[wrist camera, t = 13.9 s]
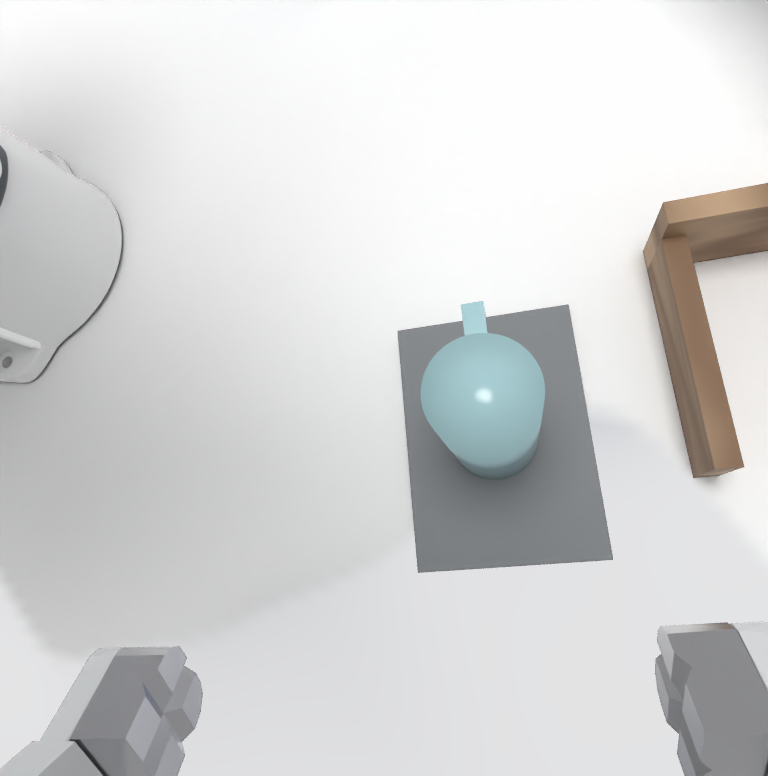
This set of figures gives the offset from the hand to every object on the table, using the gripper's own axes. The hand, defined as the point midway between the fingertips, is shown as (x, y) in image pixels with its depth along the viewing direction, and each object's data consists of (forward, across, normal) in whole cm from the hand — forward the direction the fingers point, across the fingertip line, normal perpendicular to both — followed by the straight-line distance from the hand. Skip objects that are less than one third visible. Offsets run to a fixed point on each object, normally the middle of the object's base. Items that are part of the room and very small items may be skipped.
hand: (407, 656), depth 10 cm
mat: (+20, -2, +10) cm, 23 cm away
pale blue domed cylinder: (+21, -2, +9) cm, 23 cm away
